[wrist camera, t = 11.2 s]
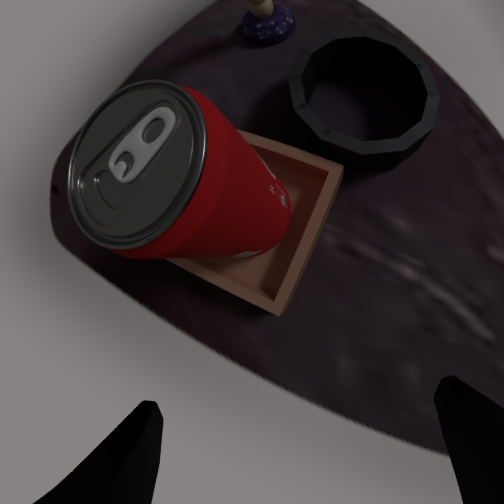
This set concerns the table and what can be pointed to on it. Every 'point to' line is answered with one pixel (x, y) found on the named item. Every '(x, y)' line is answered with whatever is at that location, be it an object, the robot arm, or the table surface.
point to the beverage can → (172, 179)
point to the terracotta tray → (295, 239)
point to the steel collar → (379, 59)
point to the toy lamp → (266, 22)
